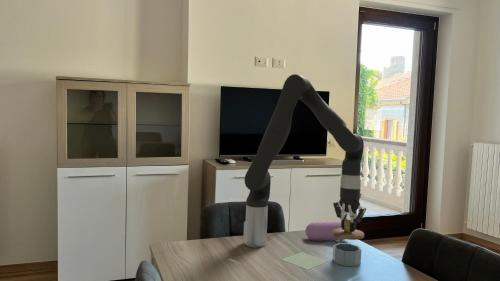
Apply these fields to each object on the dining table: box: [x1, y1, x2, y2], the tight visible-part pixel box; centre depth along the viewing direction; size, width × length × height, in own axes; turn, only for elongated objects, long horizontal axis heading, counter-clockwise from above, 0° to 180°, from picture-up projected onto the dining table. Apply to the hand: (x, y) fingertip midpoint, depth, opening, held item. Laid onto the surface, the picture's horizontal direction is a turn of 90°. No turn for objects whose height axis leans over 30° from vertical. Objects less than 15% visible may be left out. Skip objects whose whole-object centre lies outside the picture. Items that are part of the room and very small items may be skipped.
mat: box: [280, 251, 329, 270], centre depth 158 cm, size 13×13×1 cm
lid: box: [332, 218, 365, 241], centre depth 157 cm, size 12×12×6 cm
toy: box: [305, 221, 346, 243], centre depth 185 cm, size 8×9×20 cm
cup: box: [332, 242, 362, 267], centre depth 158 cm, size 10×10×6 cm
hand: (348, 230), depth 157 cm, fingers closed on lid, 3 cm apart
